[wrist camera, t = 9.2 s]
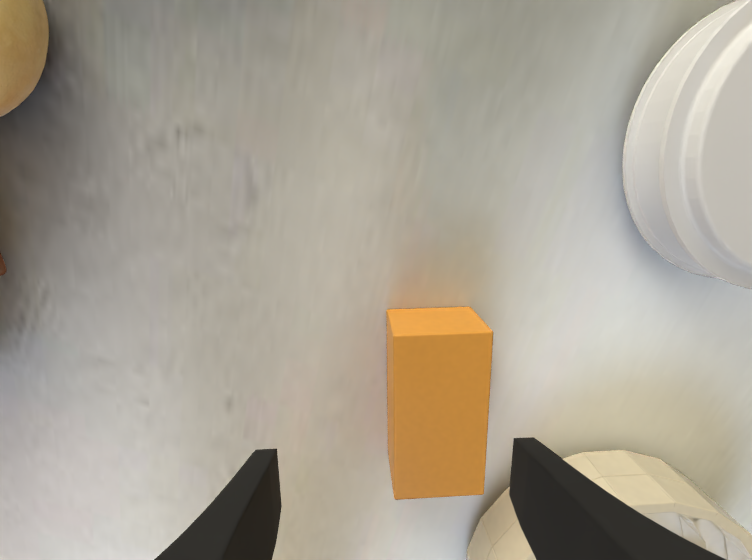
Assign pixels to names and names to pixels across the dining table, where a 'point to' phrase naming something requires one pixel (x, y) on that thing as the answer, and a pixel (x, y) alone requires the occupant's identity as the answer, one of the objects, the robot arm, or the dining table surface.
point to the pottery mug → (2, 266)
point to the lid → (697, 150)
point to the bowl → (639, 491)
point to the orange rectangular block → (437, 401)
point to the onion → (21, 49)
